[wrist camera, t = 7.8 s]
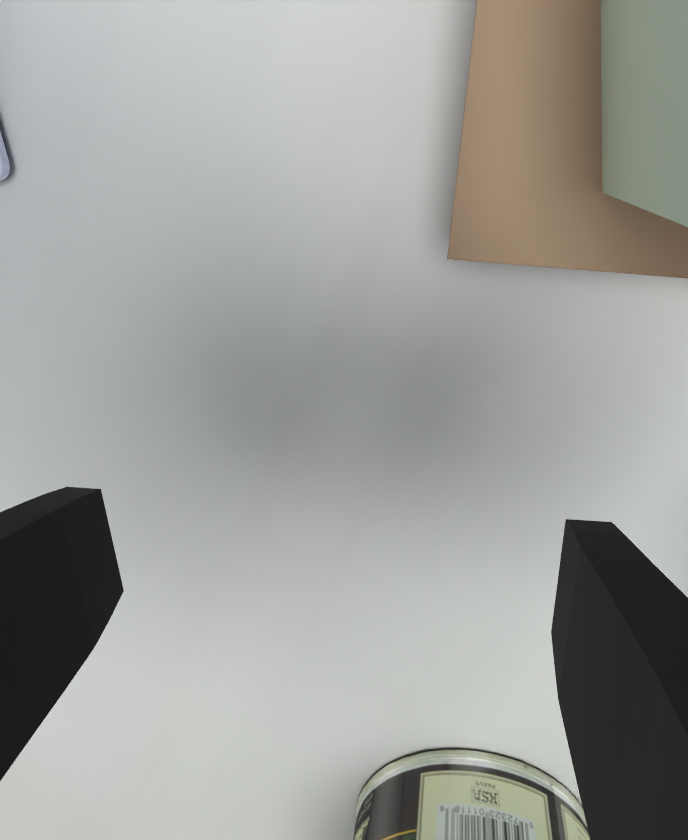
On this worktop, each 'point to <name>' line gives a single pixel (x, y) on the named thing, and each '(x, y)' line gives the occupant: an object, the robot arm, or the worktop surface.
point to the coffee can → (466, 801)
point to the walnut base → (546, 151)
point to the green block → (645, 104)
